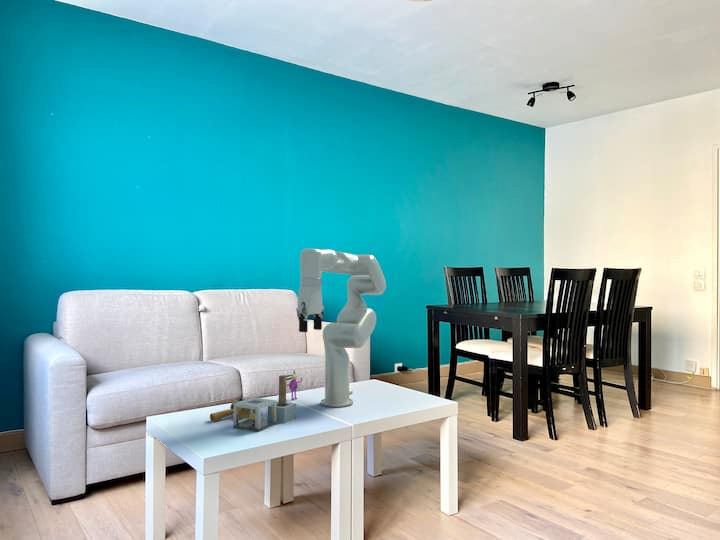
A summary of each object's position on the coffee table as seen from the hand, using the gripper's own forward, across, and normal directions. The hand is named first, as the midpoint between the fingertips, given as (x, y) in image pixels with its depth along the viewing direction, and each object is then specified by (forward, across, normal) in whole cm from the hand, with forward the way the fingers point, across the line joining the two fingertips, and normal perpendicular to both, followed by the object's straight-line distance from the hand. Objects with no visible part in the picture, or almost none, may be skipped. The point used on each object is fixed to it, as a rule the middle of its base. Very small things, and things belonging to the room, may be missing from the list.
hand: (310, 330), depth 191 cm
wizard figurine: (+31, -18, -19) cm, 40 cm away
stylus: (+30, +9, -6) cm, 32 cm away
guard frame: (+30, +20, -9) cm, 37 cm away
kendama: (+31, +14, -22) cm, 40 cm away
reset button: (+29, +20, -9) cm, 36 cm away
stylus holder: (+30, +9, -6) cm, 32 cm away
